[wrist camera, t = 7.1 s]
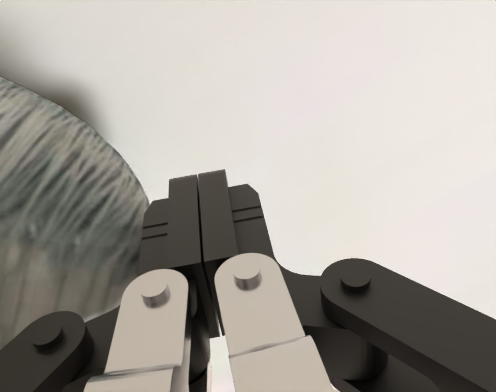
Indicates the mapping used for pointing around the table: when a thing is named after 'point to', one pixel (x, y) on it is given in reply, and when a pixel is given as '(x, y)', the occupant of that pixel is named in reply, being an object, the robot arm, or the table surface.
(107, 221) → the spool
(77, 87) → the table surface
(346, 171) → the table surface
